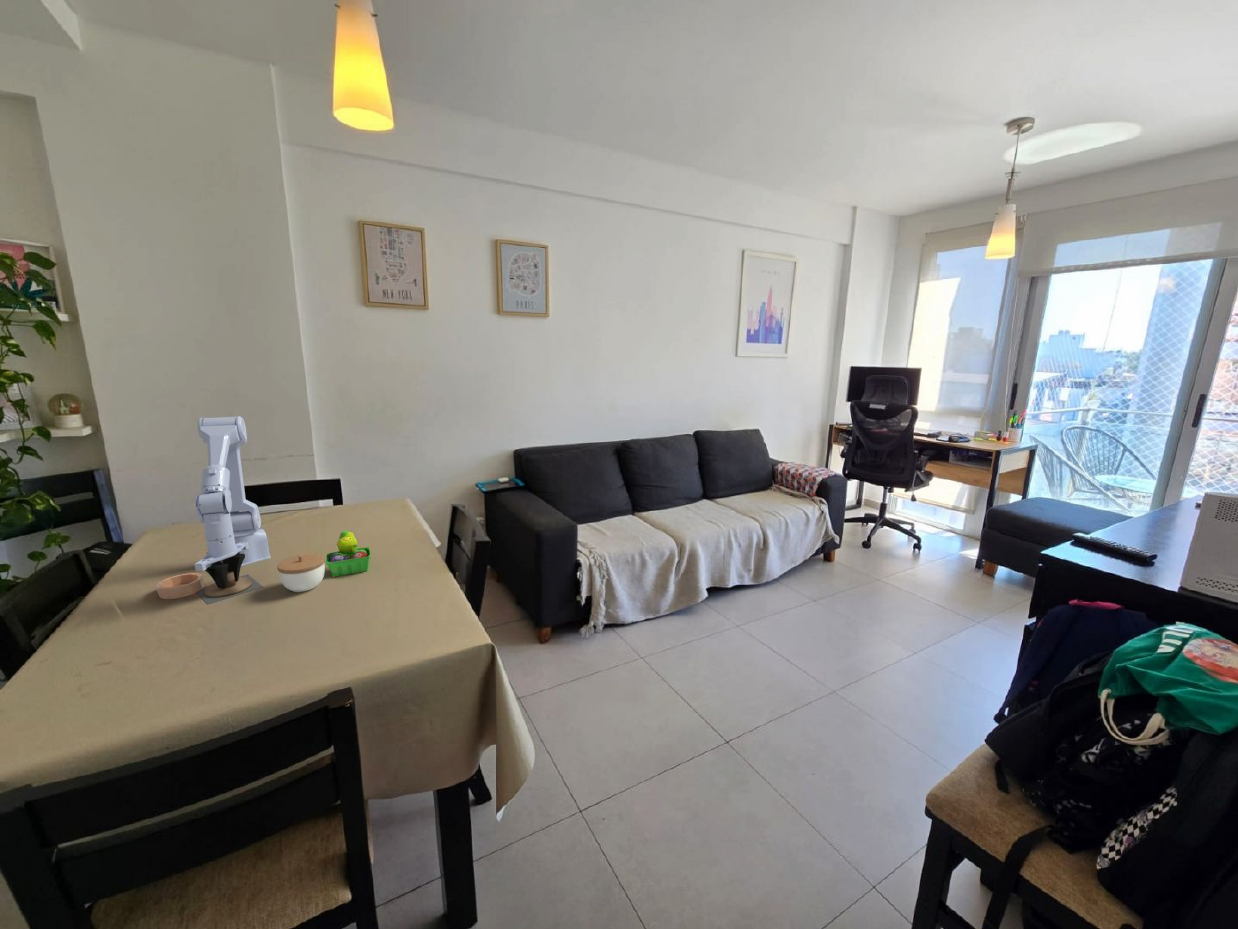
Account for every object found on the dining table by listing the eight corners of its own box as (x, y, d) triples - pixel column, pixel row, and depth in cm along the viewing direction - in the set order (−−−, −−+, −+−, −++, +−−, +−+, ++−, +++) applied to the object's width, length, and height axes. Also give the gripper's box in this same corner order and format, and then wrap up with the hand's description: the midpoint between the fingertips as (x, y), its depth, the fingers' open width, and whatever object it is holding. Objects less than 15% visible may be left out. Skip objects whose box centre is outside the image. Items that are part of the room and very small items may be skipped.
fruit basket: (327, 579, 139) (322, 542, 136) (328, 567, 146) (324, 531, 144) (372, 572, 144) (368, 536, 141) (371, 560, 152) (368, 526, 149)
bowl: (198, 580, 136) (196, 570, 136) (208, 590, 131) (206, 579, 130) (155, 592, 129) (153, 581, 129) (164, 603, 124) (161, 592, 123)
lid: (244, 576, 139) (242, 562, 138) (257, 587, 133) (255, 572, 132) (199, 589, 131) (196, 574, 130) (211, 601, 125) (208, 586, 124)
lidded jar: (336, 584, 136) (332, 552, 134) (297, 601, 127) (293, 567, 125) (311, 576, 141) (307, 545, 139) (272, 592, 131) (266, 559, 129)
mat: (247, 575, 140) (247, 574, 140) (263, 588, 133) (263, 587, 133) (194, 591, 131) (193, 589, 131) (208, 605, 124) (207, 604, 124)
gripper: (228, 526, 136) (236, 571, 139) (179, 546, 122) (189, 596, 125) (252, 527, 135) (260, 572, 138) (206, 547, 121) (215, 598, 124)
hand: (228, 584), depth 131 cm, fingers closed on lid, 3 cm apart
